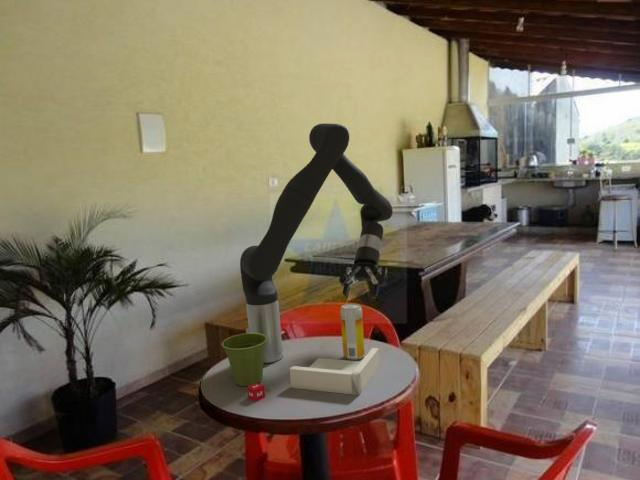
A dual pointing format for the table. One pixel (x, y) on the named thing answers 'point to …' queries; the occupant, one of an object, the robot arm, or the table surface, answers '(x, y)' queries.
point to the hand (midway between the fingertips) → (359, 297)
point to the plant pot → (246, 357)
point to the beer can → (352, 331)
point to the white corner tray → (336, 374)
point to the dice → (256, 392)
